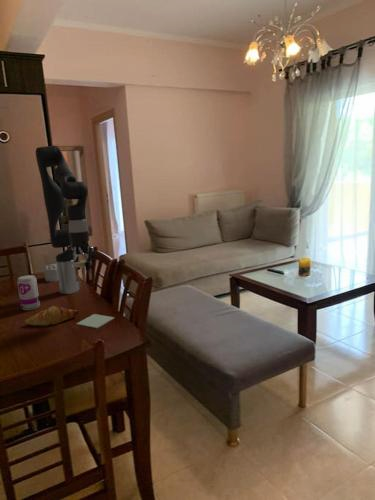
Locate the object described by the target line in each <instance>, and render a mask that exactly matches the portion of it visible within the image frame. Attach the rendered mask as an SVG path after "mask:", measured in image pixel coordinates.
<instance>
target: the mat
mask: <svg viewBox="0 0 375 500" xmlns="http://www.w3.org/2000/svg"><path fill="white" fill-rule="evenodd" d="M114 319H115V317H114V316H108V315H102V314H97V313H94V314H91V315H90V316H88V317H85V318H84V319H82V320H80V321H79V322H76V323H75V325H77V326H83V327H87V328H93V329H98V328H101V327H102V326H104V325H106V324H107V323H109V322H111V321H113V320H114Z"/></svg>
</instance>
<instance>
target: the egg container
mask: <svg viewBox="0 0 375 500" xmlns="http://www.w3.org/2000/svg"><path fill="white" fill-rule="evenodd" d="M43 273H44V279H45V281H46V282H48V281H49V282H48V283H54V281H55V282H59V281H58V280H59V278H58V270H57V262H56V263H48V264H47V265H45V266H44V268H43Z"/></svg>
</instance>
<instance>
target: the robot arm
mask: <svg viewBox="0 0 375 500" xmlns="http://www.w3.org/2000/svg"><path fill="white" fill-rule="evenodd" d="M35 159H36V163H37V167H38V171H39V175H40V179H41V180H40V181H41V186H42V191H43V199H44V206H45V209H46V215H47V220H48V229H49V239H50V244H51V246H52V247H53V248H55V249H60V248H61V249H62V248H66V250H64V251H63V252H61V253H58V254H57V255H55V262H56V263H57V270H58V278H59V281H58V284H59V293H60V294H61V295H70V294H75V293H77V292H79V290H80V280H79V281H78V282H76V274H75V267H74V265H73V263H75V262H79V261H80V257H82V258H83V259H84V260H83V261H85V267H84V268H85V272H88V271H89V270H91V271H92V265H91V264H92V261H94V260H95V254H96V253H95V250H96V246H94V245H93V246H92V245H90V244H89V241H90V236H89V235H90V233H89V227H88V221H87V214H86V205H87V198H88V193H89V192H88V190H89V188H88V186H87V184H86V183H85V182H83V181H77V177H75V175H74V174H73V172H72V170H71V169H70V168H69V166H68V163H67V160H66V158H65V155H64V153H63V151H62V150H61V149H60V147H59V146H58V145H48V146H39V147H37V148H35ZM53 167H55V169H54V177H55V179H56V182H57V183H58V184H59V185H60V186H59V185H58V184H57V183H56V182H55V181H54V180H53V178H52V177H51V176H50V174H49V171H48V168H53ZM66 200H67V201H68V200H69V201H70V200H77V202H76V204H72V205H69V206H67V214H68V215H67V216H68V228H65V229H57V225H58V221H59V219H60V218H61V216H62V214H63V212H64V211H65V208H66ZM79 270H81V267H78V271H79Z"/></svg>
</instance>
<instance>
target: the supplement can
mask: <svg viewBox="0 0 375 500" xmlns="http://www.w3.org/2000/svg"><path fill="white" fill-rule="evenodd" d="M37 280H38V279H37V277H36V276H35V275H34V274H33V275H32V274H28V275H27V274H26V275H22V276H19V277H18V278H17V282H16V283H17V290H18V296H19V302H20V309H22V310H23V311H32V310H36V309H38V308H39V307H40V306H41V302H40V295H39V289H38V282H37Z"/></svg>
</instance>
